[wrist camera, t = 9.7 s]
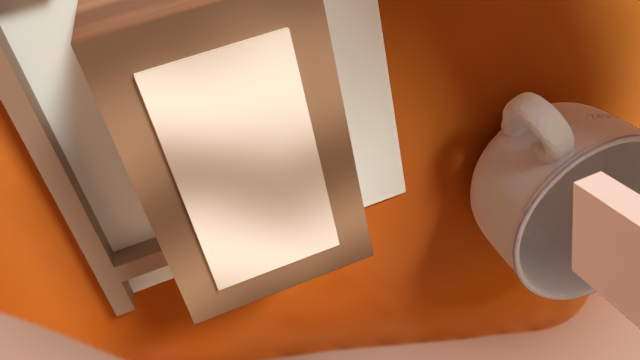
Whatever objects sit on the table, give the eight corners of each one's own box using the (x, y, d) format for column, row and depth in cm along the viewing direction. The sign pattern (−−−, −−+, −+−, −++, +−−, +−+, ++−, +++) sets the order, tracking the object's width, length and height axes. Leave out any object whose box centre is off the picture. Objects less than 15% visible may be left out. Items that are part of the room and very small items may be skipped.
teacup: (597, 183, 42) (693, 243, 35) (470, 260, 41) (542, 337, 34) (565, 8, 34) (680, 42, 27) (408, 100, 33) (485, 158, 27)
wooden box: (79, -8, 25) (70, 46, 17) (255, -57, 26) (320, -26, 19) (171, 214, 31) (195, 328, 23) (310, 166, 33) (375, 258, 25)
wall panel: (346, -185, 26) (363, -189, 24) (402, 188, 36) (417, 203, 34) (-81, -83, 22) (-96, -79, 21) (116, 293, 33) (116, 316, 31)
